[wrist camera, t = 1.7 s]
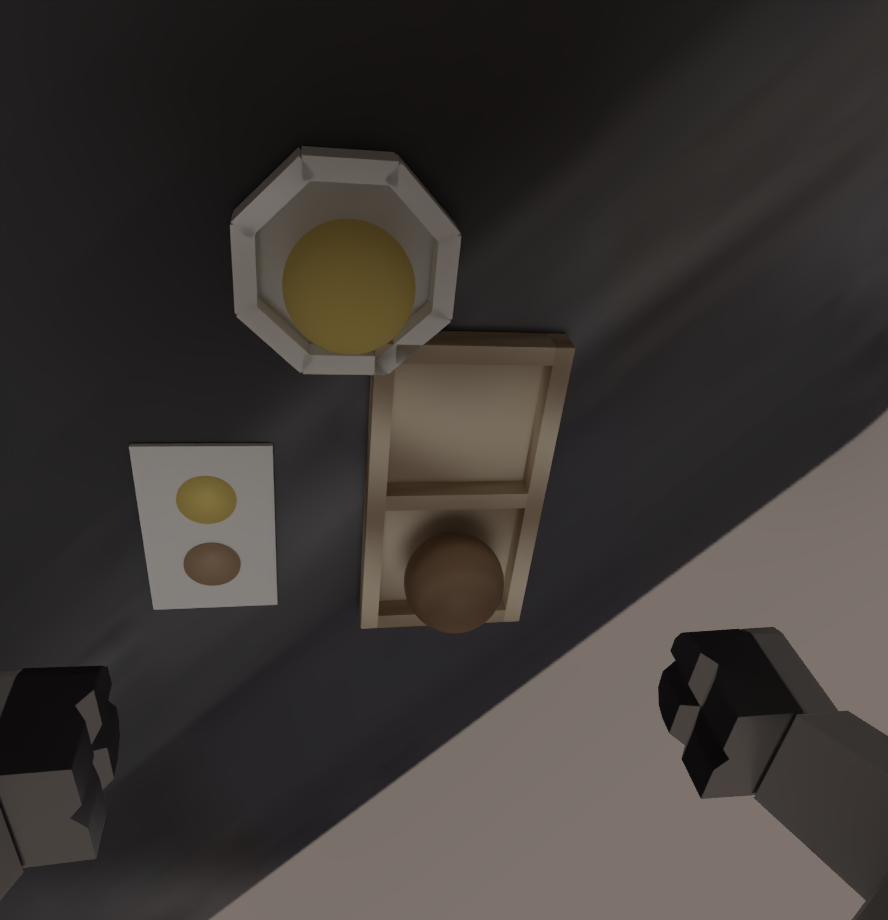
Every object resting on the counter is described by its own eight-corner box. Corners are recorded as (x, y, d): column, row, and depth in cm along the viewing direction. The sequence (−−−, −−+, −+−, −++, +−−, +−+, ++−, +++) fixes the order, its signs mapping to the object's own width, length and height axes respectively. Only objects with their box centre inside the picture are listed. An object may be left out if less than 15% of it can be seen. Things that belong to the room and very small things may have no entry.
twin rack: (372, 329, 27) (375, 344, 26) (565, 333, 28) (575, 348, 27) (359, 608, 34) (361, 628, 33) (512, 602, 35) (518, 620, 34)
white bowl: (228, 141, 23) (225, 150, 22) (461, 156, 24) (469, 165, 23) (240, 357, 26) (238, 373, 25) (440, 360, 28) (446, 376, 27)
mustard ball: (281, 198, 23) (279, 240, 20) (411, 205, 24) (430, 247, 21) (284, 321, 26) (282, 376, 22) (403, 324, 26) (418, 378, 23)
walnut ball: (401, 512, 31) (414, 580, 28) (498, 511, 32) (521, 576, 28) (395, 586, 33) (406, 657, 30) (486, 583, 34) (506, 652, 30)
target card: (130, 443, 27) (128, 448, 27) (272, 443, 28) (272, 447, 28) (154, 606, 32) (153, 611, 32) (277, 601, 33) (277, 606, 33)
